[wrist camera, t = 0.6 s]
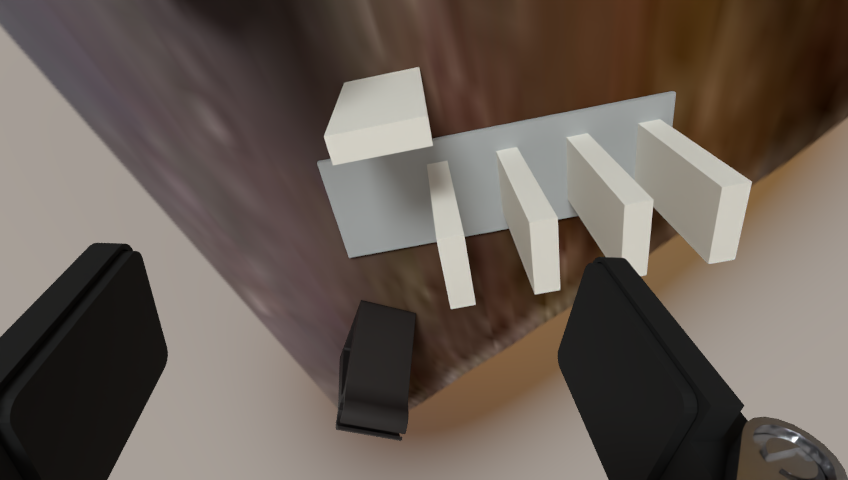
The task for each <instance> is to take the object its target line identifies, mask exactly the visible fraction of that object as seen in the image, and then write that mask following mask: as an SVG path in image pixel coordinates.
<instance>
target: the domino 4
mask: <svg viewBox="0 0 848 480" xmlns="http://www.w3.org/2000/svg"><path fill="white" fill-rule="evenodd" d="M566 143H567V190H568V200H569V202H570V203H571V205H572V206H573V208H574V210H575V211H576V213H577V214H578V216H579V217H580V219H581V220H582V222H583V223H584V225H585V226H586V228H587V229H588V231H589V232H590V234H591V235H592V237H593V238H594V240H595V241H596V243H597V244H598V246H599V248H600V249H601V251H602V252H603V254H604V255H605V257H616V258H625V259H626V260H627V261H628V262H629V263H630V264H631V266H632V267H633V268H634V269H635V271H636V272H637V273H638V274H639V276H644V275H647V266H648V255H649V245H650V234H651V223H652V213H653V202H654V200H653V199H652V198H651V197H650V196H649V195H648V194H647V193H646V192H645V191H644V190H643V189H642V188H641V187H640V186H639V185H638V184H637V183H636V182H635V180H634V179H633V178H632V177H631V176H630V175H629V174H628V173H627V172H626V171H625V170H624V169H623V168H622V167H621V166H620V165H619V164H618V163H617V162H616V161H615V160H614V159H613V158H612V157H611V156H610V155H609V154H608V153H607V152H606V151H605V150H604V149H603V148H602V147H601V146H600V145H599V144H598V143H597V142H596V141H595V140H594V139H593V138H592V137H591V136H590V135H589V134H588V133H586V134H581V135H576V136H571V137H566Z"/></svg>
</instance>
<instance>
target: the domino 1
mask: <svg viewBox="0 0 848 480" xmlns="http://www.w3.org/2000/svg"><path fill="white" fill-rule="evenodd" d="M324 139H325V142H326V145H327V148H328V152H329V155H330V158H331V161H332V164H333V165H338V164H343V163H348V162H353V161H358V160H363V159H369V158H374V157H379V156H384V155H389V154H394V153H399V152H404V151H409V150H414V149H419V148H424V147H430V146H433V142H432V136H431V130H430V124H429V119H428V113H427V107H426V101H425V96H424V90H423V84H422V79H421V74H420V68H419V67H417V68H412V69H407V70H402V71H398V72H393V73H388V74H383V75H378V76H373V77H369V78H364V79H359V80H354V81H349V82H345V83H344V84H343V87H342V90H341V92H340V95H339V98H338V100H337V103H336V106H335V108H334V111H333V114H332V116H331V119H330V121H329V124H328V127H327V129H326V132H325V135H324Z"/></svg>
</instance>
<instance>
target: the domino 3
mask: <svg viewBox="0 0 848 480" xmlns="http://www.w3.org/2000/svg"><path fill="white" fill-rule="evenodd" d="M496 156H497V166H498V175H499V184H500V193H501V202H502V211H503V214H504V216H505V219H506V222H507V224H508V227H509V229H510V232H511V234H512V237H513V240H514V242H515V245H516V247H517V250H518V253H519V255H520V258H521V260H522V263H523V265H524V268H525V271H526V273H527V276H528V278H529V281H530V283H531V286H532V289H533V291H534V294H540V293H546V292H552V291H558V290H560V268H559V239H558V217H557V215H556V214H555V212H554V210H553V209H552V207H551V205H550V203H549V202H548V200H547V198H546V196H545V195H544V193H543V191H542V190H541V188H540V186H539V184H538V183H537V181H536V179H535V177H534V176H533V174H532V172H531V170H530V169H529V167H528V165H527V164H526V162H525V160H524V158H523V157H522V155H521V153H520V151H519V150H518V148H517V147H514V148H509V149H504V150H499V151H496Z"/></svg>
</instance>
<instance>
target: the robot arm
mask: <svg viewBox="0 0 848 480" xmlns="http://www.w3.org/2000/svg"><path fill="white" fill-rule="evenodd" d="M167 357H168V351H167V346H166V343H165V339H164V335H163V331H162V328H161V324H160V321H159V317H158V313H157V310H156V306H155V302H154V298H153V295H152V291H151V287H150V284H149V280H148V276H147V273H146V269H145V266H144V262H143V258H142V256H141V254H140V253H139V252H137V251H133V250H132V248H131V247H130V246H129V245H128V244H116V243H94V244H92V245H90V246H89V247H88V248H87V249H86V250H85V251H84V252H83V253H82V254H81V255H80V256H79V257H78V258H77V259H76V260H75V262H73V264H72V265H71V266H70V267H69V268H68V269H67V270H66V271H65V272H64V273H63V274H62V275H61V276H60V277H59V278H58V279H57V280H56V281H55V282H54V283H53V284H52V285H51V286H50V287H49V288H48V289H47V290H46V291H45V292H44V293H43V294H42V295H41V296H40V297H39V298H38V299H37V300H36V301H35V302H34V303H33V304H32V305H31V307H29V309H27V311H26V312H25V313H24V314H23V315H22V316H21V317H20V318H19V319H18V320H17V321H16V322H15V323H14V324H13V325H12V326H11V327H10V328H9V329H8V330H7V331H6V332H5V333H4V334H3V335H2V336H1V337H0V480H107V479H108V477H109V475H110V473H111V471H112V469H113V467H114V466H115V464H116V462H117V460H118V458H119V456H120V454H121V452H122V450H123V448H124V446H125V444H126V442H127V440H128V438H129V436H130V434H131V432H132V430H133V428H134V427H135V425H136V422H137V421H138V419H139V417H140V415H141V413H142V411H143V409H144V407H145V405H146V403H147V401H148V399H149V397H150V395H151V393H152V391H153V390H154V388H155V386H156V384H157V382H158V380H159V378H160V376H161V374H162V372H163V370H164V368H165V366H166V362H167ZM558 363H559V366H560V369H561V371H562V374H563V376H564V378H565V381H566V383H567V385H568V387H569V390H570V392H571V394H572V397H573V399H574V401H575V404H576V406H577V408H578V410H579V413H580V415H581V417H582V420H583V422H584V424H585V426H586V429H587V431H588V433H589V436H590V438H591V440H592V442H593V445H594V447H595V449H596V452H597V454H598V456H599V459H600V461H601V463H602V465H603V468H604V470H605V472H606V474H607V477H608V479H609V480H848V478H847V475H846V472H845V469H844V468H843V466H842V465H841V464H840V462H839V461H838V459H837V458H836V456H835V455H834V454H833V453H832V452H831V451H830V450H828V448H827V447H826V446H825V445H824V444H822V443H821V442H820V441H818V440H817V439H816V438H814V437H813V436H812V435H810V434H809V433H807V432H806V431H804V430H802V429H800V428H798V427H796V426H795V425H793V424H790V423H787V422H785V421H782V420H779V419H774V418H769V417H758V418H753V419H751V420H750V421H747V420H746V418H745V417H744V416H743V414H742V413H741V412H740V411H741V410H742V408H743V407H744V405H743V403H742V402H741V401H740V400H739V398H738V397H737V396H736V395H735V394H734V392H733V391H732V390H731V388H730V387H729V386H728V385H727V383H726V382H725V381H724V380H723V379H722V377H721V376H720V375H719V374H718V372H717V371H716V370H715V369H714V367H713V366H712V365H711V364H710V362H709V361H708V360H707V359H706V358H705V356H704V355H703V354H702V353H701V351H700V350H699V349H698V347H697V346H696V345H695V344H694V343H693V341H692V340H691V339H690V338H689V336H688V335H687V334H686V333H685V331H684V330H683V329H682V328H681V326H680V325H679V324H678V323H677V321H676V320H675V319H674V318H673V316H672V315H671V314H670V313H669V312H668V310H667V309H666V308H665V307H664V306H663V304H662V303H661V302H660V300H659V299H658V298H657V297H656V295H655V294H654V293H653V292H652V291H651V290H650V288H649V287H648V286H647V284H646V283H645V282H644V281H643V279H642V278H641V277H640V276H639V274H638V273H637V272H636V271H635V269H634V268H633V267H632V266H631V264H630V263H629V262H628V261H627V260H626V259H625V258H616V257H598V258H596V259H595V260H594V261H593V263H589V264H588V265H587V266H586V268H585V270H584V273H583V276H582V279H581V283H580V286H579V289H578V292H577V295H576V298H575V301H574V304H573V307H572V310H571V313H570V316H569V319H568V322H567V326H566V329H565V332H564V335H563V338H562V341H561V344H560V347H559V350H558Z"/></svg>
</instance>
